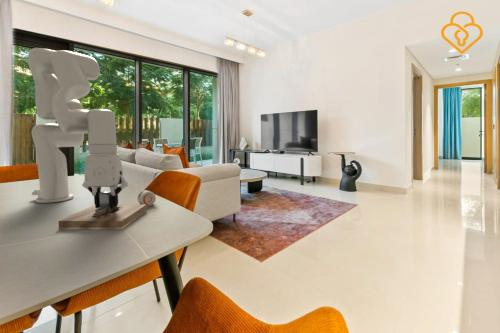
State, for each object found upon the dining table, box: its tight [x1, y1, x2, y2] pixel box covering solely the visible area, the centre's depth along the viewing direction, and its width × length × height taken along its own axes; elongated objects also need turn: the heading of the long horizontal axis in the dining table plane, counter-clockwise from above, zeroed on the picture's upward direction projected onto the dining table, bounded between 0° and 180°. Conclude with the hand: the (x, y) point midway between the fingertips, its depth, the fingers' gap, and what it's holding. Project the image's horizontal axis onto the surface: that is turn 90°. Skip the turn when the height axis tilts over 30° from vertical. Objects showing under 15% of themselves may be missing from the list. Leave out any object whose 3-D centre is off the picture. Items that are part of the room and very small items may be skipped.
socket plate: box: [57, 204, 148, 230], centre depth 82 cm, size 18×18×2 cm
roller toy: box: [137, 189, 156, 207], centre depth 99 cm, size 4×6×6 cm
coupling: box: [95, 190, 117, 215], centre depth 81 cm, size 9×4×6 cm, turn 1°
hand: (106, 206), depth 82 cm, fingers closed on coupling, 4 cm apart
